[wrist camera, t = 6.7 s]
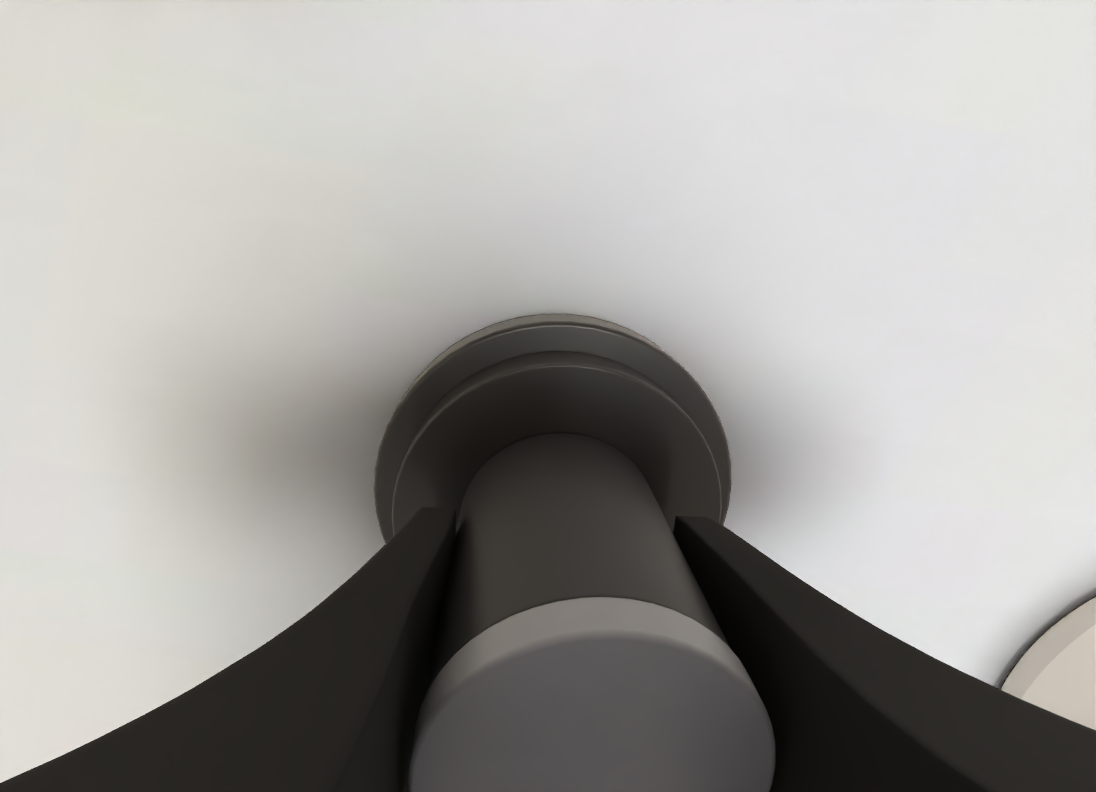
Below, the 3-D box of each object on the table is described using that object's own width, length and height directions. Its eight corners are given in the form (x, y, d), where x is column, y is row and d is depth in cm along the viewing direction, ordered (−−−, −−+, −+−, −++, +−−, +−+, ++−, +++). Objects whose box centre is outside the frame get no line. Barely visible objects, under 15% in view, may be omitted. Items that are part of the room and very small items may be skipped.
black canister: (581, 633, 12) (631, 948, 7) (419, 549, 11) (336, 836, 6) (696, 494, 11) (854, 735, 6) (529, 390, 10) (544, 566, 5)
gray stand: (591, 662, 15) (602, 727, 13) (322, 525, 13) (290, 577, 11) (784, 433, 13) (830, 469, 11) (502, 238, 11) (499, 243, 9)
